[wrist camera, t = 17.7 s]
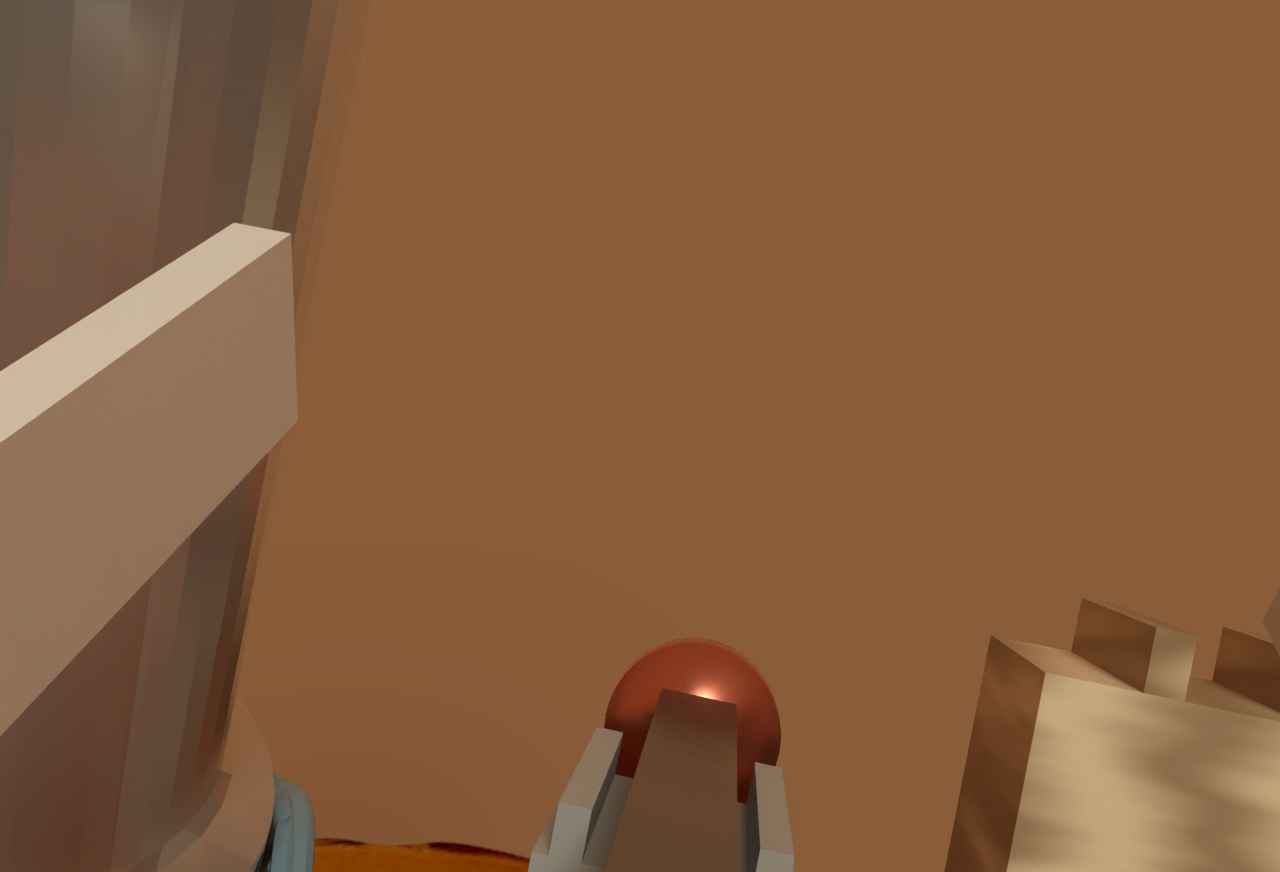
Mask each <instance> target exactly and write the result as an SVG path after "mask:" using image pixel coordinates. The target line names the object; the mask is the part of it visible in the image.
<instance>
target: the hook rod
mask: <svg viewBox="0 0 1280 872" xmlns="http://www.w3.org/2000/svg"><path fill="white" fill-rule="evenodd" d="M604 728H605V729H609V730H614V731H618V732H623V737H622V742H621V747H620V752H619V757H618V763H617V768H616V773H615V775H619V776H624V777H628V778H633V782H632V785H631V788H630V791H629V794H628V798H627V801H626V804H625V807H624V810H623V813H622V816H621V820H620V823H619V826H618V829H617V832H616V835H615V839H614V842H613V845H612V848H611V851H610V854H609V857H608V861H607V864H606V867H605V870H604V872H738V834H737V802H739V803H743V804H747V799H748V793H749V788H750V783H751V778H752V773H753V768H754V763H755V762H757V763H762V764H766V765H771V766H775V765H776V762H777V759H778V755H779V749H780V742H781V729H780V721H779V714H778V709H777V705H776V701H775V698H774V695H773V693H772V690H771V688H770V686H769V684H768V682H767V681H766V679H765V678H764V676H763V675H762V673H761V672H760V671H759V669H758V668H757V667H756V666H755V665H754V664H753V663H752V662H751V661H750V660H749V659H748V658H746V657H745V656H744V655H743V654H741V653H740V652H738V651H736V650H735V649H733V648H731V647H729V646H727V645H724V644H722V643H719V642H715V641H712V640H707V639H700V638H685V639H677V640H673V641H669V642H665V643H663V644H661V645H658V646H655V647H654V648H652V649H650V650H648V651H647V652H645V653H644V654H643V655H641V656H640V657H639V658H637V659H636V660H635V661H634V662H633V663H632V664H631V665H630V666H629V668H628V669H627V671H626V672H625V673H624V674H623V676H622V677H621V679H620V681H619V683H618V684H617V686H616V688H615V690H614V692H613V694H612V697H611V699H610V702H609V705H608V708H607V712H606V718H605V725H604Z"/></svg>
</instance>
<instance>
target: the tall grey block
mask: <svg viewBox="0 0 1280 872" xmlns="http://www.w3.org/2000/svg"><path fill="white" fill-rule="evenodd" d="M622 737H623V732H618V731H614V730H609V729H605V728H600V727H597V729H596V731H595V733H594V735H593V737H592V739H591V741H590V743H589V744H588V746H587V748H586V750H585V752H584V754H583V756H582V758H581V760H580V762H579V764H578V766H576V767H575V769H574V771H573V773H572V775H571V777H570V779H569V781H568V783H567V785H566V787H565V789H564V791H563V792H562V795H561V796H560V798H559V800H558V802H557V804H556V806H555V808H554V810H553V812H552V814H551V816H550V818H549V819H548V822H547V823H546V825H545V827H544V829H543V831H542V833H541V835H540V837H539V839H538V841H537V843H536V845H535V847H534V848H533V850H532V854H531V858H530V863H529V869H528V872H604V870H605V867H606V864H607V861H608V857H609V854H610V851H611V848H612V845H613V842H614V839H615V835H616V832H617V829H618V826H619V823H620V820H621V816H622V813H623V810H624V807H625V804H626V801H627V798H628V794H629V791H630V788H631V785H632V782H633V778H628V777H624V776H619V775H615V773H616V768H617V763H618V757H619V752H620V747H621V742H622ZM737 834H738V872H795V870H794V857H795V855H794V849H793V843H792V835H791V829H790V822H789V815H788V809H787V802H786V795H785V789H784V782H783V777H782V769H781V768H780V767H775V766H771V765H766V764H762V763H757V762H755V763H754V768H753V773H752V778H751V783H750V788H749V793H748V799H747V804H743V803H739V802H737Z"/></svg>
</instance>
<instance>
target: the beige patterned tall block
mask: <svg viewBox="0 0 1280 872" xmlns="http://www.w3.org/2000/svg"><path fill="white" fill-rule="evenodd" d="M1196 641H1197V636H1196V635H1194V634H1192V633H1189V632H1186V631H1184V630H1181V629H1178V628H1176V627H1173V626H1170V625H1168V624H1165V623H1162V622H1160V621H1157V620H1155V619H1152V618H1150V617H1147V616H1144V615H1142V614H1139V613H1136V612H1133V611H1131V610H1129V609H1126V608H1123V607H1121V606H1118V605H1115V604H1110V603H1106V602H1101V601H1095V600H1090V599H1086V598H1082V600H1081V605H1080V610H1079V615H1078V620H1077V625H1076V630H1075V636H1074V641H1073V646H1072V651H1071V652H1070V651H1065V650H1060V649H1056V648H1051V647H1046V646H1041V645H1036V644H1032V643H1027V642H1022V641H1017V640H1012V639H1008V638H1003V637H997V636H993V635H991V638H990V643H989V648H988V653H987V658H986V663H985V668H984V673H983V678H982V684H981V689H980V694H979V699H978V704H977V709H976V714H975V719H974V724H973V729H972V734H971V740H970V745H969V750H968V756H967V760H966V765H965V770H964V775H963V780H962V786H961V791H960V796H959V801H958V806H957V811H956V816H955V821H954V826H953V832H952V837H951V842H950V847H949V852H948V857H947V863H946V867H945V872H1280V656H1279V654H1278V652H1277V650H1276V648H1275V646H1274V644H1273V642H1272V640H1271V638H1270V637H1267V636H1264V635H1261V634H1258V633H1253V632H1248V631H1243V630H1238V629H1233V628H1228V627H1223V629H1222V634H1221V640H1220V645H1219V650H1218V655H1217V660H1216V665H1215V670H1214V676H1213V680H1212V681H1209V680H1205V679H1200V678H1195V677H1190V672H1191V667H1192V662H1193V657H1194V651H1195V646H1196Z"/></svg>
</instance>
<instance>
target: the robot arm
mask: <svg viewBox="0 0 1280 872" xmlns="http://www.w3.org/2000/svg"><path fill="white" fill-rule="evenodd" d="M376 3H377V0H0V872H313V865H314V846H315V821H314V812H313V807H312V804H311V801H310V799H309V797H308V795H307V793H306V792H305V791H304V790H303V789H302V788H301V787H300V786H299V785H298V784H296V783H293V782H291V781H289V780H287V779H282V778H278V777H277V776H276V775H275V774H274V773H273V770H272V765H271V760H270V755H269V750H268V747H267V745H266V742H265V740H264V738H263V736H262V734H261V731H260V729H259V726H258V725H257V723H256V722H255V720H254V719H253V717H252V716H251V714H250V713H249V712H248V710H247V709H246V707H245V706H244V705H243V704H242V703H241V702H240V701H239V700H238V698H237V697H236V692H237V687H238V682H239V677H240V672H241V666H242V662H243V657H244V652H245V647H246V642H247V637H248V632H249V628H250V623H251V617H252V612H253V608H254V603H255V598H256V593H257V588H258V583H259V578H260V573H261V568H262V563H263V559H264V553H265V548H266V544H267V539H268V534H269V529H270V524H271V519H272V514H273V509H274V504H275V499H276V495H277V489H278V485H279V480H280V475H281V470H282V465H283V460H284V455H285V451H286V446H287V441H288V436H289V431H290V428H291V427H292V426H293V425H294V424H295V423H296V422H297V421H298V411H297V392H298V387H299V382H300V377H301V372H302V367H303V362H304V357H305V351H306V347H307V342H308V337H309V333H310V328H311V323H312V318H313V313H314V308H315V303H316V298H317V293H318V288H319V283H320V278H321V274H322V268H323V264H324V259H325V254H326V249H327V244H328V239H329V234H330V229H331V224H332V219H333V214H334V210H335V205H336V200H337V194H338V190H339V185H340V180H341V175H342V170H343V166H344V161H345V155H346V151H347V145H348V141H349V136H350V131H351V126H352V121H353V116H354V111H355V107H356V101H357V97H358V92H359V87H360V82H361V77H362V72H363V67H364V62H365V58H366V52H367V47H368V43H369V37H370V33H371V28H372V23H373V18H374V13H375V8H376ZM1262 622H1263V624H1264V626H1265V628H1266V630H1267V632H1268V634H1269V636H1270V638H1271V640H1272V642H1273V644H1274V646H1275V648H1276V650H1277V652H1278V654H1279V656H1280V589H1279V591H1278V593H1277V595H1276V596H1275V598H1274V600H1273V602H1272V604H1271V606H1270V607H1269V610H1268V611H1267V613H1266V615H1265V617H1264V618H1263V621H1262Z"/></svg>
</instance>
